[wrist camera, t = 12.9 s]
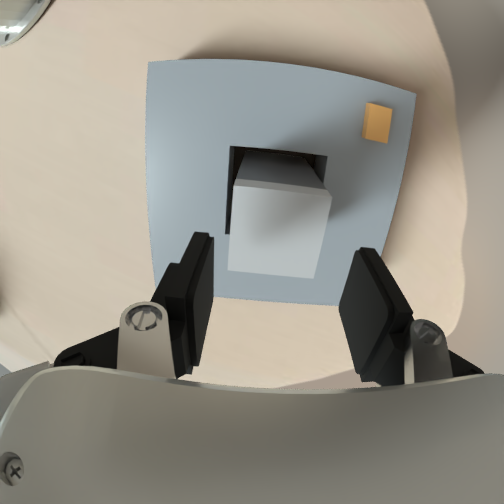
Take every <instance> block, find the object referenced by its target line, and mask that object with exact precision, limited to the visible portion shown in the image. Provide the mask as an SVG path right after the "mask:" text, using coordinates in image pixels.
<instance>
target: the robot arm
mask: <svg viewBox="0 0 504 504" xmlns="http://www.w3.org/2000/svg"><path fill="white" fill-rule="evenodd" d="M50 1H51V0H0V47H2V46H7V45H9V44H12V43H14V42H15V41H16V40H18V39H19V38H21V37H22V36H23V35H24V34H25V33H26V32H27V31H28V30H29V29H30V28H31V27H32V26H33V25H34V24H35V22H36V21H37V20H38V19H39V17H40V16H41V15H42V13H43V12H44V10H45V9H46V8H47V6H48V5H49V3H50ZM213 297H214V237H210V236H209V233H207V232H194V233H193V235H192V237H191V239H190V242H189V244H188V246H187V248H186V250H185V252H184V254H183V256H182V258H181V261H180V263H172V262H171V263H169V265H168V267H167V269H166V271H165V273H164V275H163V277H162V279H161V281H160V283H159V285H158V287H157V289H156V291H155V293H154V295H153V297H152V299H151V301H150V302H138V303H135V304H133V305H130V306H129V307H128V308H126V309H125V310H124V311H123V313H122V315H121V318H120V327H118V328H116V329H113V330H111V331H108V332H106V333H104V334H101V335H99V336H96V337H94V338H91V339H89V340H87V341H84V342H82V343H79V344H77V345H74V346H72V347H69V348H67V349H65V350H64V351H62V352H61V353H60V354H59V355H58V356H57V358H56V359H55V361H54V363H53V364H50V363H49V361H47V362H44V363H41V364H37V365H34V366H31V367H28V368H25V369H22V370H19V371H16V372H13V373H9V374H6V375H4V376H2V377H1V378H0V504H504V375H502V374H492V373H489V374H485V373H484V372H483V371H482V370H481V369H480V368H478V367H477V366H475V365H473V364H472V363H470V362H468V361H467V360H465V359H463V358H462V357H460V356H458V355H457V354H455V353H453V352H452V351H450V350H448V347H447V342H446V337H445V335H444V332H443V331H442V330H441V328H440V327H439V326H437V325H436V324H435V323H433V322H431V321H428V320H424V319H418V320H414V318H413V316H412V314H413V311H412V309H411V307H410V306H409V304H408V302H407V300H406V298H405V297H404V295H403V293H402V292H401V290H400V288H399V286H398V285H397V283H396V281H395V280H394V278H393V276H392V275H391V273H390V272H389V270H388V268H387V267H386V265H385V263H384V262H383V260H382V259H381V257H380V256H379V254H378V252H377V251H376V249H375V248H368V247H361V248H360V249H359V250H356V251H355V253H354V256H353V260H352V263H351V266H350V270H349V273H348V277H347V280H346V283H345V286H344V290H343V293H342V296H341V299H340V302H339V313H340V317H341V320H342V324H343V327H344V331H345V334H346V338H347V341H348V345H349V349H350V352H351V356H352V360H353V364H354V368H355V371H356V373H357V374H360V377H361V381H362V382H370V381H371V382H372V381H374V382H376V383H377V384H376V387H371V388H354V389H320V390H319V389H316V390H315V389H314V390H306V389H305V390H304V389H299V390H298V389H270V388H252V387H238V386H227V385H217V384H208V383H200V382H192V381H185V380H178V378H179V377H181V376H183V375H185V374H191V375H192V370H193V366H199V363H200V358H201V354H202V349H203V344H204V340H205V335H206V330H207V326H208V321H209V317H210V312H211V308H212V303H213Z"/></svg>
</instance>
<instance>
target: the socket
mask: <svg viewBox="0 0 504 504" xmlns="http://www.w3.org/2000/svg"><path fill="white" fill-rule="evenodd" d="M415 102H416V93H413V92H410V91H407V90H404V89H401V88H398V87H394V86H391V85H388V84H384V83H381V82H377V81H374V80H370V79H366V78H362V77H358V76H354V75H349V74H345V73H340V72H335V71H330V70H325V69H320V68H314V67H308V66H301V65H294V64H286V63H277V62H267V61H254V60H236V59H184V60H166V61H154V62H148V74H147V91H146V125H145V152H146V186H147V205H148V219H149V232H150V243H151V253H152V262H153V271H154V279H155V286H156V289H157V287H158V285H159V283H160V281H161V279H162V277H163V275H164V273H165V271H166V269H167V267H168V265H169V263H171V262H172V263H180V261H181V258H182V256H183V254H184V252H185V250H186V248H187V246H188V244H189V242H190V239H191V237H192V235H193V233H194V232H207V233H209V236H210V237H214V297H224V298H234V299H245V300H257V301H269V302H283V303H297V304H313V305H332V306H339V302H340V299H341V296H342V293H343V290H344V286H345V283H346V280H347V277H348V273H349V270H350V266H351V263H352V260H353V256H354V253H355V251H356V250H359V249H360V248H361V247H368V248H375V249H376V251H377V252H378V254H379V256H380V257H381V254H382V251H383V247H384V244H385V241H386V238H387V234H388V231H389V227H390V224H391V220H392V217H393V213H394V209H395V205H396V201H397V197H398V193H399V189H400V185H401V181H402V176H403V172H404V167H405V162H406V157H407V152H408V147H409V141H410V136H411V130H412V123H413V117H414V109H415ZM235 146H243V147H255V148H266V149H276V150H285V151H294V152H302V153H309V154H316V158H315V165H314V172H315V173H316V175H317V176H318V177H319V179H320V180H321V182H322V183H323V185H324V186H325V188H326V189H327V191H328V192H329V193H330V195H331V196H332V201H331V206H330V210H329V215H328V220H327V224H326V229H325V233H324V237H323V242H322V246H321V250H320V254H319V258H318V262H317V267H316V270H315V274H314V278H313V279H310V278H300V277H289V276H279V275H268V274H258V273H249V272H239V271H229V270H228V254H229V240H230V226H231V197H232V181H233V165H234V150H235Z"/></svg>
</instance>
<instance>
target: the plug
mask: <svg viewBox="0 0 504 504" xmlns="http://www.w3.org/2000/svg"><path fill="white" fill-rule="evenodd" d="M331 201H332V196H331V195H330V193H329V192H328V191H327V189H326V188H325V186H324V185H323V183H322V182H321V180H320V179H319V177H318V176H317V175H316V173H315V172H314V170H313V169H312V168H311V166H310V165H309V163H308V162H307V161H306V159H305V158H304V157H299V156H292V155H284V154H277V153H268V152H259V151H249V150H246V151H245V154H244V157H243V160H242V163H241V165H240V168H239V171H238V174H237V177H236V180H235V183H234V187H233V200H232V213H231V226H230V240H229V254H228V270H229V271H239V272H249V273H258V274H268V275H279V276H289V277H300V278H310V279H313V278H314V274H315V270H316V267H317V262H318V258H319V254H320V250H321V246H322V242H323V237H324V233H325V229H326V224H327V220H328V215H329V210H330V206H331Z"/></svg>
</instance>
